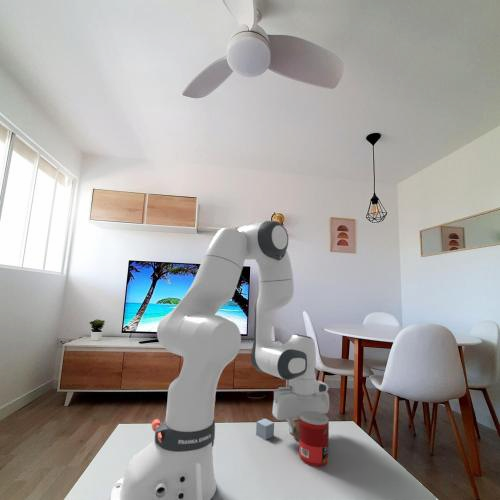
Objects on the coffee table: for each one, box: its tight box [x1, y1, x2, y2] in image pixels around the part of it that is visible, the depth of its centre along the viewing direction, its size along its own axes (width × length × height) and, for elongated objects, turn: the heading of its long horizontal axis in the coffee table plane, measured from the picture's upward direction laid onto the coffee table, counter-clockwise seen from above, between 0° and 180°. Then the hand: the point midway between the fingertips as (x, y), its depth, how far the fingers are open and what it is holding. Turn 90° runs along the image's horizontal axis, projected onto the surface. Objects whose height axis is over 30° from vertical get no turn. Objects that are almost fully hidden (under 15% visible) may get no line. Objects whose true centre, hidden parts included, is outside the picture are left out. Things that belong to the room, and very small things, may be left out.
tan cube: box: [289, 417, 300, 442], centre depth 91 cm, size 5×5×5 cm
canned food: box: [298, 411, 330, 467], centre depth 79 cm, size 8×8×11 cm
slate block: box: [255, 418, 275, 441], centre depth 90 cm, size 4×4×4 cm
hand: (300, 430), depth 91 cm, fingers closed on tan cube, 5 cm apart
